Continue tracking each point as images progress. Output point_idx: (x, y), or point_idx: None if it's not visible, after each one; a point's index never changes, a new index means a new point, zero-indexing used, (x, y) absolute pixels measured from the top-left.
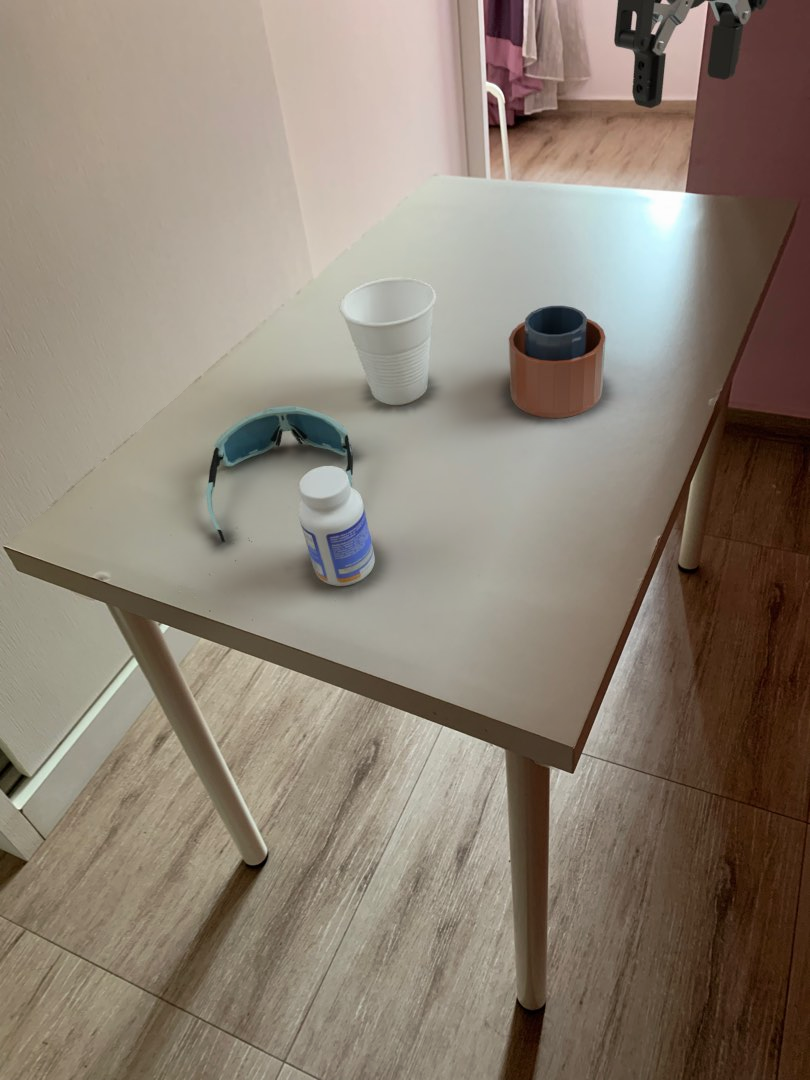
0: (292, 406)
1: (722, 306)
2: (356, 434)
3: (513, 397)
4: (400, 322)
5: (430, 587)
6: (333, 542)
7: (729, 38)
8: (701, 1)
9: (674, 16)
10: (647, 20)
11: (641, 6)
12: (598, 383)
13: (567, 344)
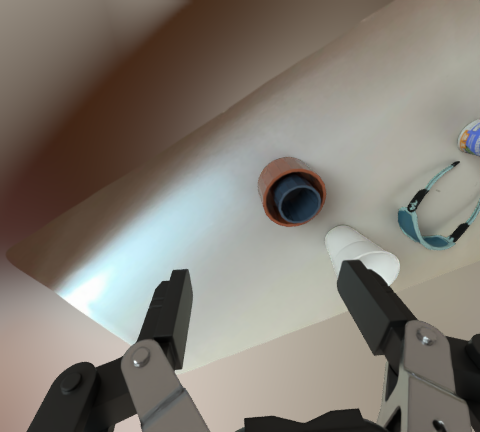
0: (422, 243)
1: (136, 188)
2: (381, 220)
3: None
4: (386, 251)
5: (468, 87)
6: None
7: (178, 325)
8: (323, 423)
9: (453, 393)
10: None
11: None
12: (279, 163)
13: (306, 183)
